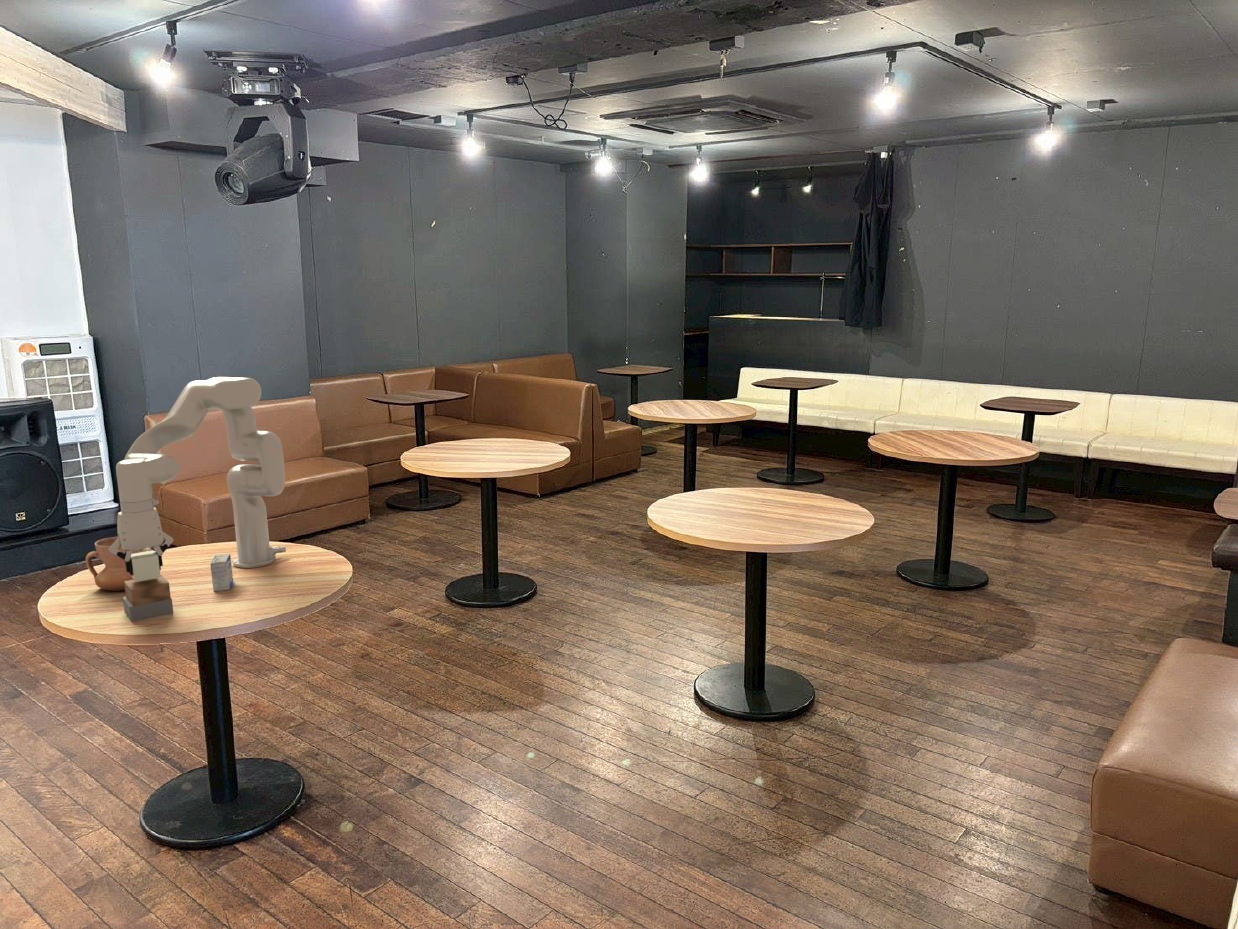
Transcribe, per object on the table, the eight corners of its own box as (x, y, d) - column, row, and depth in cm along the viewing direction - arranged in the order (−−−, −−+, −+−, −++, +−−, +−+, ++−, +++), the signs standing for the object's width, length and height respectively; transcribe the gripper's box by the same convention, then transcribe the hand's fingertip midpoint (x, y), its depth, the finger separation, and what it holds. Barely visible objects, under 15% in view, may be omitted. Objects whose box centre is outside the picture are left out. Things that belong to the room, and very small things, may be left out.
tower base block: (165, 604, 240) (163, 589, 239) (173, 614, 233) (171, 598, 232) (124, 612, 234) (122, 597, 233) (131, 623, 226) (129, 607, 226)
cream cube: (155, 571, 236) (153, 550, 234) (160, 577, 231) (158, 555, 230) (130, 576, 232) (128, 554, 231) (135, 581, 227) (132, 559, 226)
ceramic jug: (165, 577, 262) (159, 531, 259) (144, 593, 248) (138, 545, 245) (102, 580, 260) (96, 535, 257) (78, 597, 246) (71, 548, 243)
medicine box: (229, 590, 250) (226, 561, 248) (213, 591, 249) (209, 563, 247) (233, 581, 258) (230, 553, 256) (217, 583, 256) (214, 555, 255)
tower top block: (162, 589, 239) (160, 574, 238) (170, 598, 232) (168, 582, 231) (125, 597, 233) (123, 581, 232) (133, 606, 226) (131, 590, 225)
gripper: (169, 498, 236) (177, 562, 239) (97, 508, 225) (105, 574, 229) (176, 503, 230) (183, 568, 234) (101, 514, 220) (110, 582, 223)
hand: (145, 571), depth 231 cm, fingers closed on cream cube, 5 cm apart
